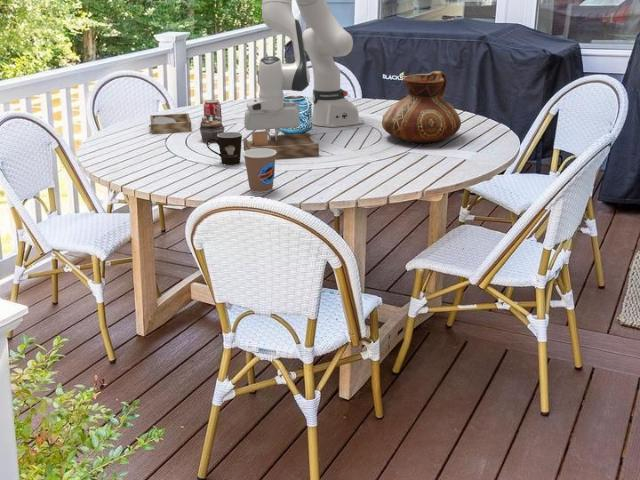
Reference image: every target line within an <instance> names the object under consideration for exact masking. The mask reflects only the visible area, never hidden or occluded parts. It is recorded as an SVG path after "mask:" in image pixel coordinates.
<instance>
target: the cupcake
mask: <svg viewBox="0 0 640 480" xmlns="http://www.w3.org/2000/svg"><path fill="white" fill-rule="evenodd" d="M220 119H221V117H219V116H218V115H215V116H213V115H212V114H210V115H207V116H204V115H203V116H202V117H201V122H200V123H199V124H200V125H199V132H200V136H201V140H202V142H203V143H206V142H207V141H208V140H210V139H215V140H218V138H217V135H218V134H220V133H224V132H225V126H224V125H223V121H222V122H221V121H220ZM214 143H215V141H210V142H209V143H208V144H214ZM215 144H216V143H215Z"/></svg>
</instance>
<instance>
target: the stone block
mask: <svg viewBox="0 0 640 480" xmlns="http://www.w3.org/2000/svg"><path fill="white" fill-rule="evenodd" d="M160 123H176V121H175V120H174V119H172V118H168V117H155V118H153V124H160Z"/></svg>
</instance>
